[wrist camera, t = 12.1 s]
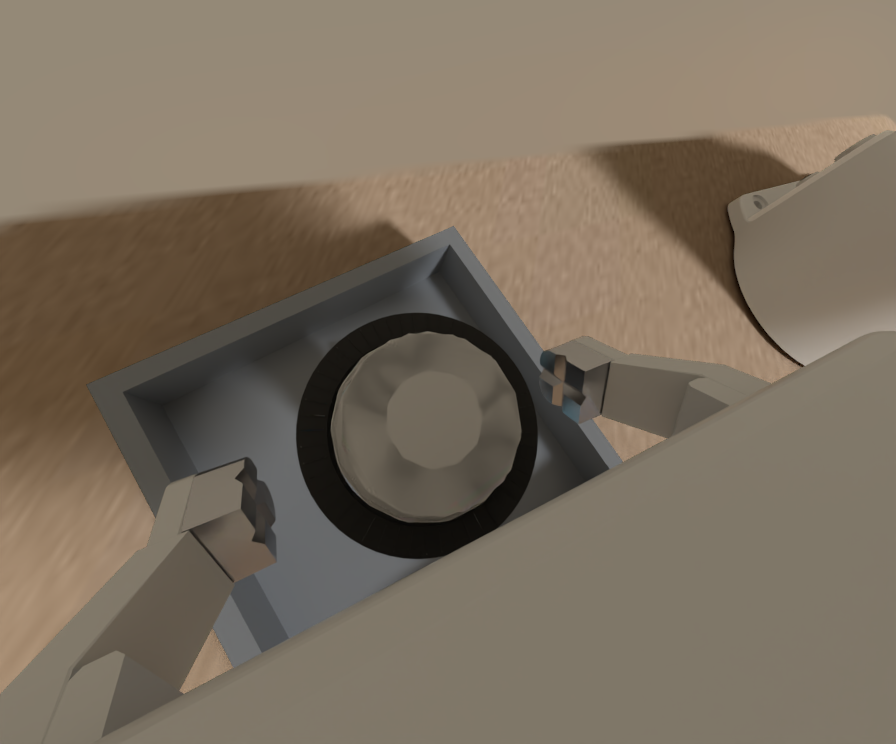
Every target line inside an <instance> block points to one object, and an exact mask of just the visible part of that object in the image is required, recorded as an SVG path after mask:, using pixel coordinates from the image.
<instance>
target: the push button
mask: <svg viewBox="0 0 896 744" xmlns="http://www.w3.org/2000/svg"><path fill="white" fill-rule="evenodd" d="M333 444H334V445H333ZM296 446H297V455H298V460H299V465H300V469H301V472H302V475H303V478H304V481H305V483H306V486H307V488H308V490H309V492H310V494H311V496H312V498H313V499H314V501H315V502H316V504H317V506H318V507H319V509H320V510H321V511H322V512H323V514H324V515H325V516H326V517H327V519H328V520H329V521H330V522H331V523H332V524H333V525H334V526H335V527H336V528H337V529H338V530H340V531H341V532H342V533H344V534H345V535H346V536H347V537H349V538H350V539H352V540H353V541H355V542H357V543H359V544H360V545H362V546H364V547H366V548H368V549H371V550H373V551H375V552H378V553H382V554H385V555H388V556H393V557H398V558H404V559H429V558H437V557H442V556H446V555H448V554H450V553H452V552H454V551H456V550H458V549H460V548H461V547H463V546H465V545H467V544H469V543H471V542H473V541H475V540H477V539H478V538H480V537H482V536H484V535H486V534H488V533H490V532H492V531H494V530H496V529H497V528H498V527H499V526H500V525H501V524H502V523H503V522H504V521H505V520H506V519H507V518H508V517H509V515H510V514H511V513H512V512H513V510H514V509H515V508H516V506H517V505H518V503H519V502H520V500H521V498H522V496H523V494H524V493H525V491H526V489H527V486H528V484H529V481H530V479H531V476H532V473H533V469H534V466H535V460H536V455H537V446H538V427H537V417H536V412H535V407H534V403H533V400H532V397H531V394H530V391H529V389H528V386H527V384H526V382H525V380H524V378H523V376H522V374H521V372H520V371H519V369H518V368H517V366H516V365H515V363H514V362H513V361H512V359H511V358H510V357H509V356H508V354H507V353H506V352H505V351H504V350H503V349H502V348H501V347H500V346H499V345H498V344H497V343H495V342H494V341H493V340H492V339H491V338H489V337H488V336H487V335H485V334H484V333H483V332H481V331H479V330H478V329H476V328H474V327H472V326H470V325H468V324H466V323H464V322H462V321H459V320H456V319H453V318H450V317H446V316H442V315H438V314H431V313H402V314H396V315H391V316H387V317H383V318H380V319H377V320H374V321H371V322H369V323H367V324H365V325H363V326H361V327H359V328H357V329H356V330H354V331H352V332H351V333H349V334H348V335H346V336H345V337H344V338H343V339H341V340H340V341H339V342H338V343H337V344H336V345H334V346H333V347H332V348H331V349H330V350H329V351H328V353H327V354H326V355H325V356H324V357H323V359H322V360H321V361H320V362H319V364H318V365H317V367H316V369H315V370H314V372H313V373H312V375H311V377H310V379H309V381H308V383H307V385H306V388H305V390H304V393H303V396H302V399H301V402H300V406H299V410H298V417H297V424H296ZM334 449H335V453H334ZM335 454H336V457H335ZM336 458H337V460H336ZM337 463H338V464H337ZM338 465H339V466H338ZM340 470H341V471H340ZM342 474H343V475H344V477H345V478H346V479H347V480H348V482H349V483H350V484H351V486H352V487H353V488H354V490H355V491H356V492H357V493H358V495H359V496H360V497H361V498H362V499H361V498H360V497H359V496H358V495H357V494H356V493H355V492H354V491H353V490H352V488H351V487H350V486H349V484H348V483H347V482H346V480H345V478H344V477H343V475H342Z"/></svg>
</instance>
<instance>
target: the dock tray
mask: <svg viewBox="0 0 896 744" xmlns="http://www.w3.org/2000/svg"><path fill="white" fill-rule="evenodd" d="M402 313H431V314H438V315H442V316H446V317H450V318H453V319H456V320H459V321H462V322H464V323H466V324H468V325H470V326H472V327H474V328H476V329H478V330H479V331H481V332H483V333H484V334H485V335H487V336H488V337H489V338H491V339H492V340H493V341H494V342H495V343H497V344H498V345H499V346H500V347H501V348H502V349H503V350H504V351H505V352H506V353H507V354H508V356H509V357H510V358H511V359H512V361H513V362H514V363H515V365H516V366H517V368H518V369H519V371H520V372H521V374H522V376H523V378H524V380H525V382H526V384H527V386H528V389H529V391H530V394H531V397H532V400H533V403H534V407H535V412H536V417H537V427H538V446H537V455H536V460H535V466H534V469H533V473H532V476H531V479H530V481H529V484H528V486H527V489H526V491H525V493H524V494H523V496H522V498H521V500H520V502H519V503H518V505H517V506H516V508H515V509H514V510H513V512H512V513H511V514H510V515H509V517H508V518H507V519H506V520H505V521H504V522H503V523H502V524H501V525H500V526H499V527H501V526H503V525H505V524H507V523H509V522H511V521H513V520H514V519H516V518H518V517H520V516H522V515H524V514H526V513H528V512H530V511H532V510H533V509H535V508H537V507H539V506H541V505H543V504H545V503H547V502H549V501H550V500H552V499H554V498H556V497H558V496H560V495H562V494H564V493H566V492H568V491H569V490H571V489H573V488H575V487H577V486H579V485H581V484H583V483H585V482H586V481H588V480H590V479H592V478H594V477H596V476H598V475H600V474H601V473H603V472H605V471H607V470H609V469H611V468H613V467H615V466H617V465H618V464H620V463H622V462H623V461H622V460H621V458H620V457H619V456H618V454H617V453H616V451H615V450H614V449H613V447H612V446H611V444H610V443H609V442H608V440H607V439H606V438H605V436H604V435H603V433H602V432H601V431H600V429H599V428H598V426H597V425H596V424H595V422H594V421H593V419H590V420H588V421H585V422H583V423H581V424H577V423H576V422H575V421H573V420H572V419H571V418H569V417H568V416H567V415H565V414H564V413H563V412H562V407H561V406H558V405H554V404H551V403H550V402H549V401H548V400H546V398H545V397H544V396H543V394H542V392H541V389H540V387H539V376H540V375H541V373H542V371H543V368H542V366H541V365H540V356H541V354H542V352H543V350H542V348H541V347H540V346H539V344H538V343H537V341H536V340H535V339H534V337H533V336H532V334H531V333H530V332H529V330H528V329H527V327H526V326H525V325H524V323H523V322H522V320H521V319H520V318H519V316H518V315H517V313H516V312H515V311H514V309H513V308H512V307H511V305H510V304H509V302H508V301H507V300H506V298H505V297H504V295H503V294H502V293H501V291H500V290H499V288H498V287H497V286H496V284H495V283H494V281H493V280H492V279H491V277H490V276H489V274H488V273H487V272H486V270H485V269H484V267H483V266H482V265H481V263H480V262H479V261H478V259H477V258H476V256H475V255H474V254H473V252H472V251H471V249H470V248H469V247H468V245H467V244H466V242H465V241H464V240H463V238H462V237H461V235H460V234H459V233H458V231H457V230H456V228H455V227H454V226H453V227H450V228H448V229H446V230H443V231H441V232H439V233H437V234H434V235H432V236H430V237H427V238H425V239H423V240H420V241H418V242H416V243H413V244H411V245H409V246H406V247H404V248H402V249H399V250H397V251H395V252H392V253H390V254H388V255H386V256H383V257H381V258H379V259H376V260H374V261H372V262H369V263H367V264H365V265H362V266H360V267H358V268H355V269H353V270H351V271H348V272H346V273H344V274H341V275H339V276H337V277H335V278H332V279H330V280H328V281H325V282H323V283H321V284H318V285H316V286H314V287H311V288H309V289H307V290H304V291H302V292H300V293H297V294H295V295H293V296H290V297H288V298H286V299H284V300H281V301H279V302H277V303H274V304H272V305H270V306H267V307H265V308H263V309H260V310H258V311H256V312H253V313H251V314H249V315H246V316H244V317H242V318H239V319H237V320H235V321H233V322H230V323H228V324H226V325H223V326H221V327H219V328H216V329H214V330H212V331H209V332H207V333H205V334H202V335H200V336H198V337H195V338H193V339H191V340H188V341H186V342H184V343H181V344H179V345H177V346H175V347H172V348H170V349H168V350H165V351H163V352H161V353H158V354H156V355H154V356H151V357H149V358H147V359H144V360H142V361H140V362H137V363H135V364H133V365H130V366H128V367H126V368H124V369H121V370H119V371H117V372H114V373H112V374H110V375H107V376H105V377H103V378H100V379H98V380H96V381H93V382H91V383H89V384H86V385H87V387H88V389H89V391H90V393H91V395H92V397H93V399H94V401H95V403H96V405H97V406H98V408H99V410H100V412H101V414H102V416H103V418H104V420H105V422H106V424H107V426H108V428H109V430H110V431H111V433H112V435H113V437H114V439H115V441H116V443H117V445H118V447H119V449H120V451H121V453H122V454H123V456H124V458H125V460H126V462H127V464H128V466H129V468H130V470H131V472H132V474H133V476H134V478H135V479H136V481H137V483H138V485H139V487H140V489H141V491H142V493H143V495H144V497H145V499H146V501H147V502H148V504H149V506H150V508H151V510H152V512H153V514H154V516H155V518H156V516H157V513H158V510H159V507H160V504H161V501H162V498H163V495H164V492H165V489H166V487H167V486H168V485H169V484H170V483H171V482H174V481H177V480H180V479H183V478H185V477H188V476H191V475H194V474H198V473H200V472H203V471H206V470H209V469H212V468H215V467H218V466H220V465H223V464H226V463H229V462H232V461H235V460H238V459H241V458H244V457H248V458H250V459H251V460H252V461H253V463H254V465H255V466H256V468H257V479H258V480H261V481H263V482H265V483H266V485H267V487H268V489H269V491H270V493H271V496H272V498H273V503H274V507H275V516H276V521H275V522H274V524H273V525H272V527H271V529H272V530H273V532H274V533H275V535H276V546H277V562H276V563H274V564H272V565H270V566H268V567H266V568H264V569H262V570H260V571H258V572H256V573H254V574H251V575H249V576H247V577H245V578H243V579H241V580H239V581H237V582H235V583H234V585H235V586H234V588H233V589H232V591H231V593H230V595H229V597H228V599H227V601H226V603H225V605H224V607H223V609H222V610H221V612H220V614H219V616H218V618H217V620H216V622H215V624H214V626H213V629H214V631H215V633H216V635H217V637H218V639H219V641H220V643H221V645H222V646H223V648H224V650H225V652H226V654H227V656H228V658H229V660H230V662H231V664H232V666H233V668H234V667H236V666H238V665H240V664H242V663H244V662H246V661H248V660H250V659H251V658H253V657H255V656H257V655H259V654H261V653H263V652H265V651H267V650H268V649H270V648H272V647H274V646H276V645H278V644H280V643H282V642H284V641H285V640H287V639H289V638H291V637H293V636H295V635H297V634H299V633H301V632H302V631H304V630H306V629H308V628H310V627H312V626H314V625H316V624H318V623H320V622H321V621H323V620H325V619H327V618H329V617H331V616H333V615H335V614H337V613H338V612H340V611H342V610H344V609H346V608H348V607H350V606H352V605H354V604H355V603H357V602H359V601H361V600H363V599H365V598H367V597H369V596H371V595H372V594H374V593H376V592H378V591H380V590H382V589H384V588H386V587H388V586H390V585H391V584H393V583H395V582H397V581H399V580H401V579H403V578H405V577H407V576H408V575H410V574H412V573H414V572H416V571H418V570H420V569H422V568H424V567H425V566H427V565H429V564H431V563H433V562H435V561H437V560H439V559H441V558H442V557H444V556H442V557H437V558H429V559H404V558H398V557H393V556H388V555H385V554H382V553H378V552H375V551H373V550H371V549H368V548H366V547H364V546H362V545H360V544H359V543H357V542H355V541H353V540H352V539H350V538H349V537H347V536H346V535H345V534H344V533H342V532H341V531H340V530H338V529H337V528H336V527H335V526H334V525H333V524H332V523H331V522H330V521H329V520H328V519H327V517H326V516H325V515H324V514H323V512H322V511H321V510H320V509H319V507H318V506H317V504H316V502H315V501H314V499H313V498H312V496H311V494H310V492H309V490H308V488H307V486H306V483H305V481H304V478H303V475H302V472H301V469H300V465H299V460H298V455H297V446H296V424H297V417H298V410H299V406H300V402H301V399H302V396H303V393H304V390H305V388H306V385H307V383H308V381H309V379H310V377H311V375H312V373H313V372H314V370H315V369H316V367H317V365H318V364H319V362H320V361H321V360H322V359H323V357H324V356H325V355H326V354H327V353H328V351H329V350H330V349H331V348H332V347H333V346H334V345H336V344H337V343H338V342H339V341H340V340H341V339H343V338H344V337H345V336H346V335H348V334H349V333H351V332H352V331H354V330H356V329H357V328H359V327H361V326H363V325H365V324H367V323H369V322H371V321H374V320H377V319H380V318H383V317H387V316H391V315H396V314H402ZM333 445H334V444H333ZM334 453H335V449H334ZM335 457H336V454H335ZM336 460H337V458H336ZM337 464H338V463H337ZM338 466H339V465H338ZM340 471H341V470H340ZM342 475H343V474H342ZM343 477H344V475H343ZM344 478H345V477H344ZM345 480H346V482H347V483H348V484H349V486H350V487H351V488H352V490H353V491H354V492H355V493H356V494H357V495H358V493H357V492H356V491H355V490H354V488H353V487H352V486H351V484H350V483H349V482H348V480H347V479H346V478H345ZM358 496H359V495H358ZM359 497H360V496H359ZM360 498H361V497H360ZM361 499H362V498H361ZM499 527H498V528H499Z"/></svg>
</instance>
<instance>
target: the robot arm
mask: <svg viewBox="0 0 896 744" xmlns="http://www.w3.org/2000/svg"><path fill="white" fill-rule="evenodd" d="M834 160H835V161H834V162H835V163H833V164H831V165H830V166H828V167H827V168H825V169H824V170H822V171H821V172H815V173H813V174H810V175H808V176H807V177H805V178H803V179H802V180H800V181H796V182H792V183H788V184H784V185H780V186H776V187H772V188H768V189H764V190H760V191H756V192H752V193H748V194H744V195H742V196H740V197H738V198H737V199H735V200H734V201H732V202H730V203H729V205H728V214H729V218H730V221H731V224H732V227H733V230H734V233H735V246H734V264H735V271H736V275H737V279H738V282H739V285H740V288H741V291H742V293H743V296H744V298H745V300H746V302H747V304H748V306H749V308H750V309H751V311H752V313H753V314H754V316H755V317H756V319H757V320H758V322H759V323H760V325H761V326H762V327H763V329H764V330H765V331H766V332H767V334H768V335H769V336H770V337H771V338H772V339H773V340H774V341H775V342H776V343H777V344H778V345H779V346H780V347H781V348H782V349H783V350H784V351H785V352H786V353H787V354H789V355H790V356H791V357H793V358H794V359H795V360H797V361H798V362H800V363H801V364H803V365H804V367H802V368H800V369H798V370H796V371H794V372H793V373H791V374H789V375H787V376H785V377H783V378H781V379H779V380H777V381H776V382H774V383H772V384H771V383H769V382H766V381H764V380H761V379H759V378H756V377H754V376H751V375H749V374H746V373H744V372H741V371H739V370H736V369H734V368H731V367H729V366H726V365H722V364H714V363H705V362H697V361H689V360H681V359H672V358H664V357H656V356H648V355H639V354H629V355H627V354H625V353H623V352H621V351H618V350H616V349H614V348H612V347H610V346H608V345H606V344H604V343H601V342H599V341H597V340H595V339H593V338H591V337H589V336H582V337H579V338H576V339H574V340H571V341H569V342H567V343H565V344H562V345H559V346H557V347H554V348H551V349H548V350H546V351H543V352H542V354H541V356H540V365H541V366H542V368H543V371H542V373H541V375H540V376H539V387H540V389H541V392H542V394H543V396H544V397H545V398H546V400H548V401H549V402H550V403H551V404H554V405H558V406H561V407H562V412H563V413H564V414H565V415H567V416H568V417H569V418H571V419H572V420H573V421H575V422H576V423H577V424H581V423H583V422H585V421H588V420H590V419H592V418H595V417H597V416H600V415H602V416H603V417H606V418H609V419H612V420H615V421H618V422H621V423H624V424H627V425H629V426H632V427H635V428H638V429H641V430H644V431H647V432H650V433H653V434H656V435H659V436H662V437H665V438H668V439H666V440H664V441H662V442H660V443H658V444H656V445H654V446H652V447H651V448H649V449H647V450H645V451H643V452H641V453H639V454H637V455H635V456H634V457H632V458H630V459H628V460H626V461H624V462H622V463H620V464H618V465H617V466H615V467H613V468H611V469H609V470H607V471H605V472H603V473H601V474H600V475H598V476H596V477H594V478H592V479H590V480H588V481H586V482H585V483H583V484H581V485H579V486H577V487H575V488H573V489H571V490H569V491H568V492H566V493H564V494H562V495H560V496H558V497H556V498H554V499H552V500H550V501H549V502H547V503H545V504H543V505H541V506H539V507H537V508H535V509H533V510H532V511H530V512H528V513H526V514H524V515H522V516H520V517H518V518H516V519H514V520H513V521H511V522H509V523H507V524H505V525H503V526H501V527H499V528H497V529H496V530H494V531H492V532H490V533H488V534H486V535H484V536H482V537H480V538H478V539H477V540H475V541H473V542H471V543H469V544H467V545H465V546H463V547H461V548H460V549H458V550H456V551H454V552H452V553H450V554H448V555H446V556H444V557H442V558H441V559H439V560H437V561H435V562H433V563H431V564H429V565H427V566H425V567H424V568H422V569H420V570H418V571H416V572H414V573H412V574H410V575H408V576H407V577H405V578H403V579H401V580H399V581H397V582H395V583H393V584H391V585H390V586H388V587H386V588H384V589H382V590H380V591H378V592H376V593H374V594H372V595H371V596H369V597H367V598H365V599H363V600H361V601H359V602H357V603H355V604H354V605H352V606H350V607H348V608H346V609H344V610H342V611H340V612H338V613H337V614H335V615H333V616H331V617H329V618H327V619H325V620H323V621H321V622H320V623H318V624H316V625H314V626H312V627H310V628H308V629H306V630H304V631H302V632H301V633H299V634H297V635H295V636H293V637H291V638H289V639H287V640H285V641H284V642H282V643H280V644H278V645H276V646H274V647H272V648H270V649H268V650H267V651H265V652H263V653H261V654H259V655H257V656H255V657H253V658H251V659H250V660H248V661H246V662H244V663H242V664H240V665H238V666H236V667H234V668H233V669H231V670H229V671H227V672H225V673H223V674H221V675H219V676H217V677H215V678H214V679H212V680H210V681H208V682H206V683H204V684H202V685H200V686H198V687H197V688H195V689H193V690H191V691H189V692H187V693H185V694H183V693H182V692H180V691H179V690H180V688H181V686H182V685H183V683H184V681H185V679H186V677H187V675H188V673H189V671H190V669H191V667H192V666H193V664H194V662H195V660H196V658H197V656H198V654H199V652H200V650H201V648H202V647H203V645H204V643H205V641H206V639H207V637H208V635H209V633H210V631H211V629H212V628H213V626H214V624H215V622H216V620H217V618H218V616H219V614H220V612H221V610H222V609H223V607H224V605H225V603H226V601H227V599H228V597H229V595H230V593H231V591H232V589H233V588H234V586H235V585H234V583H235V582H237V581H239V580H241V579H243V578H245V577H247V576H249V575H251V574H254V573H256V572H258V571H260V570H262V569H264V568H266V567H268V566H270V565H272V564H274V563H276V562H277V546H276V535H275V533H274V532H273V530H272V529H271V527H272V525H273V524H274V522H275V521H276V516H275V507H274V503H273V498H272V496H271V493H270V491H269V489H268V487H267V485H266V483H265V482H263V481H261V480H258V479H257V468H256V466H255V465H254V463H253V461H252V460H251V459H250V458H248V457H244V458H241V459H238V460H235V461H232V462H229V463H226V464H223V465H220V466H218V467H215V468H212V469H209V470H206V471H203V472H200V473H198V474H194V475H191V476H188V477H185V478H183V479H180V480H177V481H174V482H171V483H170V484H169V485H168V486H167V487H166V489H165V492H164V495H163V498H162V501H161V504H160V507H159V510H158V513H157V516H156V519H155V522H154V525H153V528H152V531H151V534H150V537H149V540H148V543H147V546H146V548H143V549H141V550H138V551H136V553H135V554H134V555H133V556H132V557H131V558H130V559H129V560H128V561H127V562H126V563H125V564H124V565H123V566H122V567H121V568H120V569H119V570H118V571H117V572H116V573H115V575H114V576H113V577H112V578H111V579H110V580H109V581H108V582H107V583H106V584H105V585H104V586H103V587H102V588H101V589H100V590H99V591H98V592H97V593H96V594H95V595H94V596H93V598H92V599H91V600H90V601H89V602H88V603H87V604H86V605H85V606H84V607H83V608H82V609H81V610H80V611H79V612H78V613H77V614H76V615H75V616H74V617H73V618H72V619H71V621H70V622H69V623H68V624H67V625H66V626H65V627H64V628H63V629H62V630H61V631H60V632H59V633H58V634H57V635H56V636H55V637H54V638H53V639H52V640H51V641H50V643H49V644H48V645H47V646H46V647H45V648H44V649H43V650H42V651H41V652H40V653H39V654H38V655H37V656H36V657H35V658H34V659H33V660H32V661H31V662H30V663H29V664H28V666H27V667H26V668H25V669H24V670H23V671H22V672H21V673H20V674H19V675H18V676H17V677H16V678H15V679H14V680H13V681H12V682H11V683H10V684H9V685H8V686H7V687H6V689H5V690H4V691H3V692H2V693H1V694H0V744H896V131H889V130H886V131H884V132H882V133H880V134H878V135H874V134H872V135H870V136H868V137H866V138H864V139H862V140H861V141H859V142H857V143H856V144H854V145H852V146H851V147H849V148H848V149H846V150H845V151H843V152H842V153H841V154H839V155H838V156H837V157H836V158H835V159H834Z"/></svg>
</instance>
